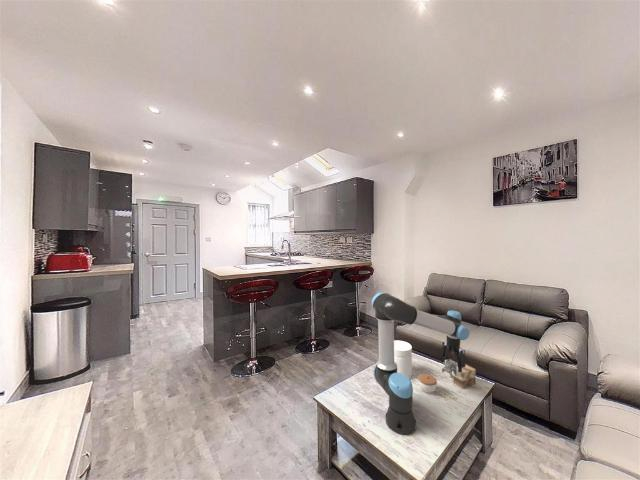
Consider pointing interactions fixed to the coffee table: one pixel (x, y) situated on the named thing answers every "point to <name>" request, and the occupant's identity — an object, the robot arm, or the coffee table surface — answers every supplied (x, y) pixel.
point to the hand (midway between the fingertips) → (452, 373)
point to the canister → (403, 357)
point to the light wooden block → (467, 373)
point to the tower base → (464, 382)
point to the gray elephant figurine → (450, 367)
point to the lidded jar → (427, 383)
